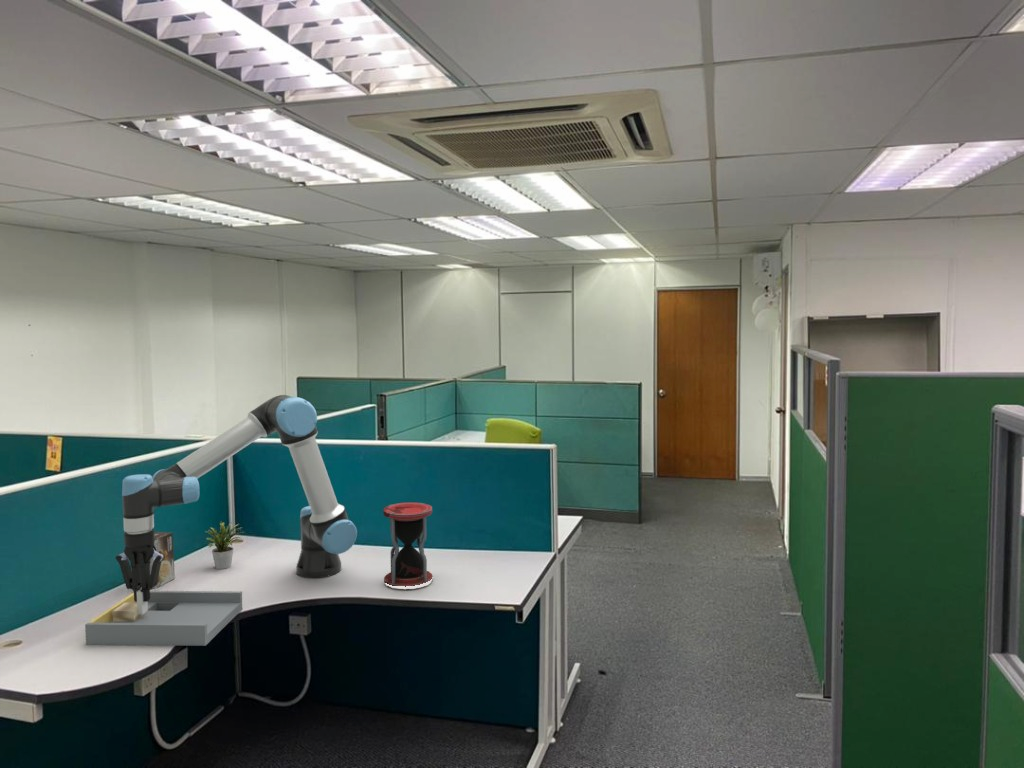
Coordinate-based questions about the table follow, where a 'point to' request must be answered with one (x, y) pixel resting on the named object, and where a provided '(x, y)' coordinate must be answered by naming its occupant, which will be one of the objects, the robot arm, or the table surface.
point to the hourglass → (408, 544)
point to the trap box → (168, 619)
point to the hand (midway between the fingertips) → (142, 612)
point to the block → (126, 613)
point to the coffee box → (167, 564)
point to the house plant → (223, 546)
